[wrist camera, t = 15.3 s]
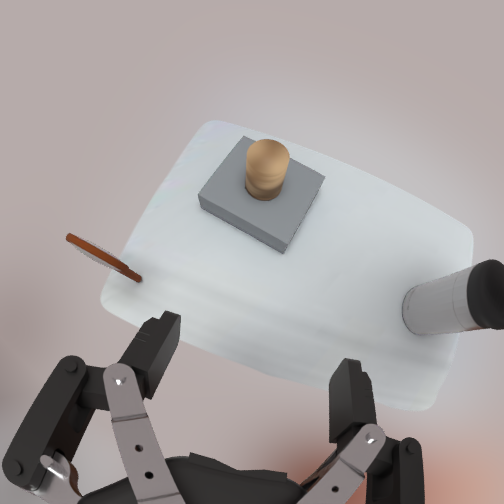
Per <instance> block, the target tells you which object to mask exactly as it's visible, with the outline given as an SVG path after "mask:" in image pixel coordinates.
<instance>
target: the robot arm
mask: <svg viewBox="0 0 504 504" xmlns="http://www.w3.org/2000/svg"><path fill="white" fill-rule="evenodd" d="M402 311H403V318H404V322H405V324H406V326H407V327H408V329H409V330H410V331H411V332H413V333H415V334H418V335H425V334H431V335H433V334H446V333H458V332H463V331H472V330H480V329H488V328H492V329H496V330H501V329H504V265H503V264H502V263H501V262H499V261H497V260H487V261H484V262H481V263H479V264H477V265H474V266H472V267H469V268H467V269H464V270H462V271H459V272H456V273H454V274H451V275H448V276H445V277H443V278H440V279H437V280H434V281H431V282H428V283H425V284H422V285H419V286H416V287H414V288H412V289H411V290H410V291H409V292H408V293H407V295H406V297H405V299H404V302H403V309H402ZM180 323H181V315H178V314H175V313H172V312H169V311H165V312H164V313H163V314H162V316H161V318H160V319H156V318H153V317H152V318H151V319H149V320H147V321H146V322H144V323H143V325H142V326H141V328H140V330H139V332H138V333H137V334H136V336H135V338H134V339H133V340H132V342H131V343H130V345H129V346H128V348H127V350H126V351H125V352H124V354H123V356H122V357H121V359H120V360H119V361H118V362H117V363H116V364H112V365H110V366H108V367H107V368H100V367H94V366H88V365H86V364H85V362H84V361H83V360H82V359H81V358H80V357H77V356H66V357H64V358H63V359H61V360H60V362H59V363H58V364H57V366H56V368H55V369H54V370H53V372H52V374H51V375H50V377H49V378H48V380H47V382H46V383H45V384H44V386H43V388H42V389H41V391H40V393H39V394H38V396H37V398H36V399H35V401H34V402H33V404H32V406H31V408H30V409H29V411H28V413H27V415H26V416H25V418H24V420H23V422H22V423H21V425H20V427H19V429H18V431H17V433H16V435H15V436H14V438H13V440H12V442H11V444H10V446H9V448H8V450H7V453H6V454H5V457H4V459H3V462H2V468H3V472H4V474H5V476H6V477H7V479H8V480H9V481H10V482H12V483H13V484H15V485H17V486H19V487H20V488H22V489H23V490H25V491H27V492H29V493H31V494H33V495H36V496H38V497H40V498H42V499H43V500H45V501H46V502H48V503H49V504H345V503H346V502H347V500H348V499H349V498H350V497H351V496H352V494H353V493H354V492H355V491H356V489H357V488H358V487H359V485H360V484H361V483H362V481H363V480H364V478H365V476H364V472H367V490H366V504H425V494H424V493H425V492H424V472H423V460H422V449H421V445H420V444H419V442H418V441H417V440H416V439H414V438H410V437H408V438H405V439H403V440H402V441H398V440H395V439H392V438H389V437H387V436H385V433H384V431H383V429H382V428H381V427H379V426H378V425H377V421H376V412H375V404H374V399H373V391H372V383H371V380H370V378H369V376H368V374H367V373H366V372H362V368H361V363H360V361H359V360H353V359H348V358H345V359H343V361H342V362H341V364H340V365H339V367H338V368H337V370H336V371H335V372H334V374H333V375H332V377H331V379H330V383H329V418H330V419H329V443H337V449H335V450H334V452H333V453H332V454H331V455H330V456H329V457H328V458H327V459H326V460H325V461H324V462H323V463H322V464H321V466H320V467H319V468H318V469H317V470H316V471H315V472H314V473H313V474H312V475H310V476H309V477H308V478H307V479H305V480H304V481H303V482H302V483H301V484H300V485H299V484H297V483H296V482H294V481H292V480H290V479H288V478H287V473H284V472H275V471H270V470H242V471H240V470H236V469H234V468H231V467H230V466H227V465H225V464H223V463H221V462H219V461H217V460H215V459H212V458H208V457H205V456H201V455H198V454H194V453H191V452H190V455H189V457H187V456H177V457H170V458H166V459H164V457H163V455H162V452H161V450H160V447H159V444H158V442H157V439H156V437H155V434H154V431H153V428H152V426H151V423H150V420H149V417H148V415H147V413H146V410H145V407H144V404H143V400H144V398H145V397H146V398H148V399H152V397H153V395H154V393H155V391H156V389H157V387H158V385H159V383H160V380H161V379H162V376H163V374H164V372H165V370H166V368H167V366H168V364H169V362H170V360H171V358H172V356H173V354H174V352H175V350H176V348H177V345H178V342H179V337H180ZM96 409H100V410H106V411H110V413H111V417H112V420H111V421H112V426H113V430H114V434H115V438H116V441H117V444H118V448H119V451H120V454H121V458H122V461H123V464H124V467H125V470H126V472H127V475H128V477H126V478H124V479H122V480H120V481H117V482H115V483H113V484H110V485H108V486H106V487H103V488H101V489H98V490H96V491H93V492H90V493H88V494H86V495H84V496H82V495H81V493H80V492H79V489H78V486H77V485H78V472H77V470H76V468H75V467H74V465H73V464H72V463H71V461H72V459H73V457H74V455H75V452H76V450H77V448H78V445H79V443H80V441H81V439H82V437H83V435H84V433H85V430H86V428H87V426H88V424H89V422H90V420H91V418H92V416H93V414H94V412H95V410H96Z"/></svg>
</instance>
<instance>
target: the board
mask: <svg viewBox="0 0 504 504" xmlns="http://www.w3.org/2000/svg"><path fill="white" fill-rule="evenodd" d="M254 142H256V141H254V140H252V139H250V138H247V137H245V136H243V137H242V138H241V140H240V141H239V142H238V143H237V144H236V146H235V147H234V148H233V149H232V151H231V152H230V153H229V154H228V156H227V157H226V158H225V159H224V161H223V162H222V163H221V165H220V166H219V167H218V168H217V170H216V171H215V172H214V174H213V175H212V176H211V177H210V179H209V180H208V181H207V183H206V184H205V185H204V187H203V188H202V189H201V191H200V192H199V193H198V198H199V201H200V205H201V208H202V209H204V210H206V211H208V212H210V213H211V214H213V215H215V216H217V217H219V218H220V219H222V220H224V221H226V222H228V223H229V224H231V225H233V226H235V227H236V228H238V229H240V230H242V231H244V232H245V233H247V234H249V235H251V236H253V237H254V238H256V239H258V240H260V241H261V242H263V243H265V244H267V245H268V246H270V247H272V248H274V249H276V250H277V251H279V252H281V253H284V251H285V250H286V248H287V246H288V244H289V243H290V241H291V239H292V237H293V235H294V234H295V232H296V230H297V228H298V227H299V225H300V223H301V221H302V219H303V218H304V216H305V214H306V212H307V210H308V209H309V207H310V205H311V203H312V201H313V199H314V198H315V196H316V194H317V192H318V190H319V188H320V186H321V184H322V183H323V181H324V179H325V176H323V175H321V174H320V173H318V172H316V171H314V170H312V169H310V168H309V167H307V166H305V165H303V164H301V163H299V162H297V161H295V160H293V159H291V158H290V159H289V163H288V167H287V171H286V174H285V178H284V182H283V186H282V190H281V192H280V194H279V195H278V196H277V197H276V198H274V199H272V200H270V202H269V201H260V200H257V199H255V198H253V197H252V196H250V195H249V194H248V192H247V190H246V187H245V180H246V159H247V150H248V148H249V147H250V146H251V145H252V144H253V143H254Z"/></svg>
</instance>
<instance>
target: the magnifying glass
mask: <svg viewBox="0 0 504 504" xmlns="http://www.w3.org/2000/svg"><path fill="white" fill-rule="evenodd" d="M66 240H67V241H68V242H70V243H71V244H72V245H73V246H74V247H75V248H77V250H79V251H80V252H81V253H83V254H84V255H86V256H87V257H89V258H91V259H92V260H94V261H96V262H98V263H100V264H102V265H104V266H106V267H109V268H111V269H114V270H116V271H118V272H119V273H121V274H123V275H125V276H127V277H129V278H130V279H132V280H134V281H136V282H140V281H141V280H142V278H141V276H140V275H138V274H137V273H135V272H134V271H132V270H130V269H129V267H128V266H127V265H126V264H124V263H123V262H121V261H120V260H119V259H118V258H116V257H115V256H114V255H112V254H111V253H109V252H108V251H106V250H105V249H103V248H101V247H100V246H98V245H96V244H94V243H92V242H89V241H88V240H85V239H83V238H80V237H77V236H75V235H73V234H71V233H69V234H68V235H67V236H66Z"/></svg>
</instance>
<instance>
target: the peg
mask: <svg viewBox="0 0 504 504" xmlns="http://www.w3.org/2000/svg"><path fill="white" fill-rule="evenodd" d="M289 159H290V156H289V152H288V150H287V149H286V147H285V146H284V145H282V144H281V143H279V142H277V141H274V140H269V139H264V140H259V141H256V142H254V143H253V144H252V145H251V146H250V147H249V148H248V150H247V159H246V180H245V187H246V190H247V192H248V194H249V195H250V196H252V197H253V198H255V199H257V200H260V201H269V200H272V199H274V198H276V197H277V196H278V195H279V194H280V192H281V190H282V186H283V182H284V178H285V174H286V171H287V167H288V163H289Z"/></svg>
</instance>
